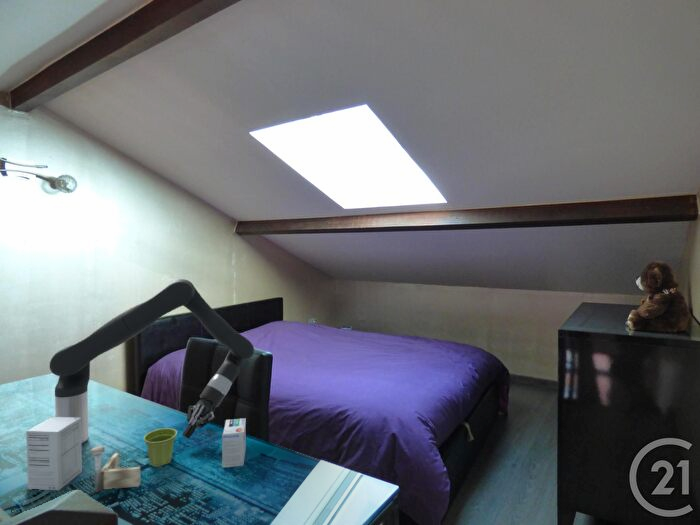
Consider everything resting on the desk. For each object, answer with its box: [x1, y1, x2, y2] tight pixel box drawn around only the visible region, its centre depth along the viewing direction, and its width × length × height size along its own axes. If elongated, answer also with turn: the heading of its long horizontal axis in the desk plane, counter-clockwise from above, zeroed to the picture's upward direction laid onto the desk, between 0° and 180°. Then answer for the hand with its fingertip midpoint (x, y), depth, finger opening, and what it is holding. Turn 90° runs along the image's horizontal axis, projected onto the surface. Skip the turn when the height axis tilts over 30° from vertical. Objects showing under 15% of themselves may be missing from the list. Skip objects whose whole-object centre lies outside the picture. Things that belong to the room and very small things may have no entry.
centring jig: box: [90, 445, 141, 493], centre depth 111 cm, size 14×10×12 cm
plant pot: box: [143, 428, 178, 467], centre depth 123 cm, size 9×9×9 cm
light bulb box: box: [221, 417, 247, 468], centre depth 126 cm, size 11×7×11 cm, turn 12°
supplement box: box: [25, 416, 83, 491], centre depth 113 cm, size 10×9×17 cm
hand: (185, 436), depth 130 cm, fingers closed
